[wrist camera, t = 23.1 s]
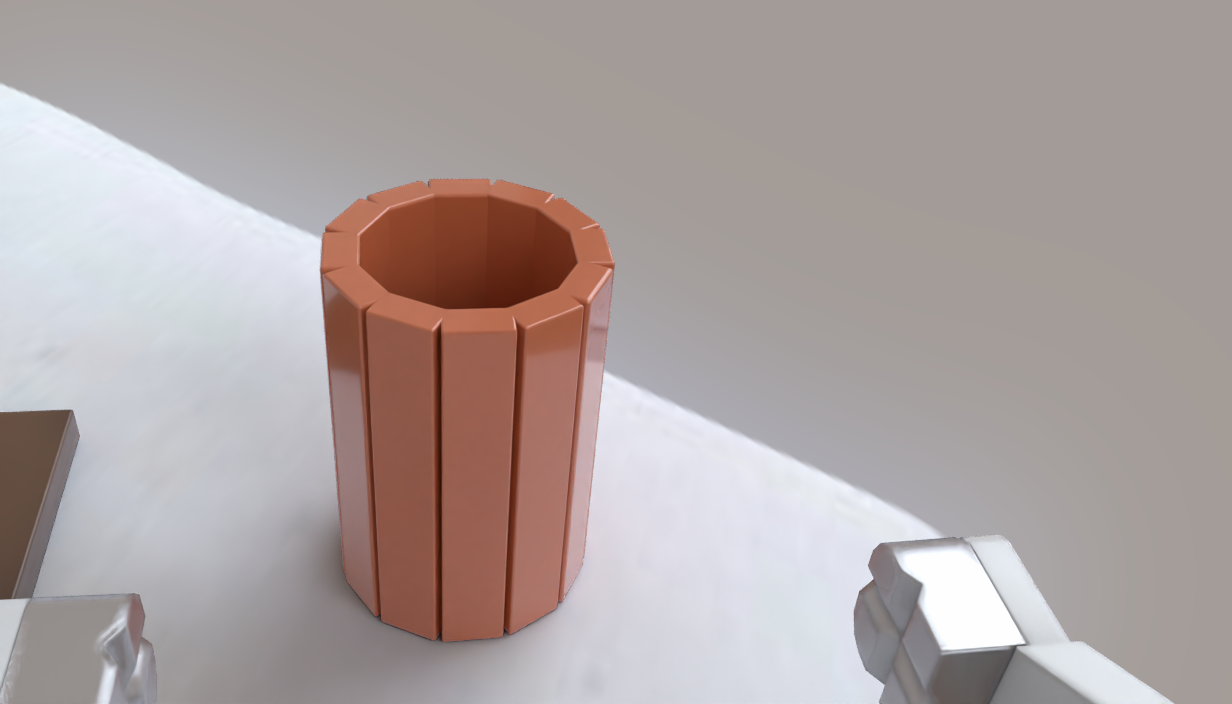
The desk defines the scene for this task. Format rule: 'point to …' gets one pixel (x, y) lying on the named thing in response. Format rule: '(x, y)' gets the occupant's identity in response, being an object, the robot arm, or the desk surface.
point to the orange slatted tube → (464, 399)
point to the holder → (31, 491)
